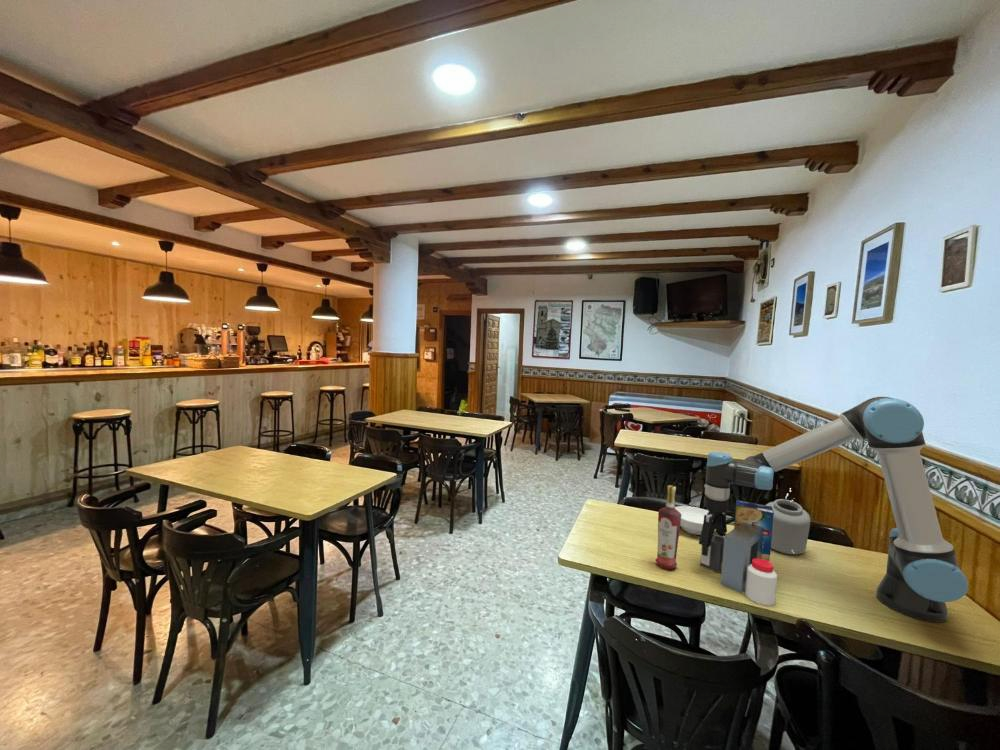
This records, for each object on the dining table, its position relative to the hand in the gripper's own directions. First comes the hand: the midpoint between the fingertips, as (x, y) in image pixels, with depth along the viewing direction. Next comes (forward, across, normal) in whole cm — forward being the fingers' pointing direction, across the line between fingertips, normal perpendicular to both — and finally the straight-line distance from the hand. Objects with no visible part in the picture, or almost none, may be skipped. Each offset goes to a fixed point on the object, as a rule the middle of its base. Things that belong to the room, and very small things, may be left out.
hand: (711, 558), depth 141 cm
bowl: (+3, -26, -16) cm, 31 cm away
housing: (+3, 0, +10) cm, 10 cm away
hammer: (+3, 0, +8) cm, 8 cm away
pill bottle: (+3, +8, +17) cm, 19 cm away
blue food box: (+3, -12, +8) cm, 15 cm away
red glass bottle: (+3, +13, -10) cm, 17 cm away
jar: (+3, -37, +13) cm, 40 cm away
